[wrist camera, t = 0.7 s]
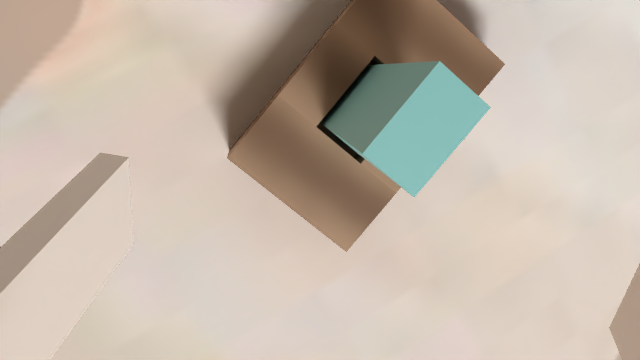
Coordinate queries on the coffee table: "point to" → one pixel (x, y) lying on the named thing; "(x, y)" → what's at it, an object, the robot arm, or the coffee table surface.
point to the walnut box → (326, 89)
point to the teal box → (406, 119)
